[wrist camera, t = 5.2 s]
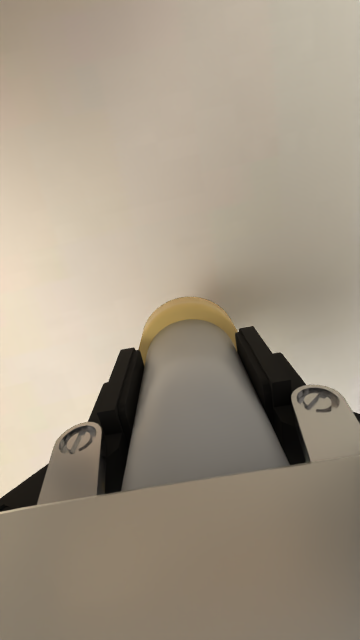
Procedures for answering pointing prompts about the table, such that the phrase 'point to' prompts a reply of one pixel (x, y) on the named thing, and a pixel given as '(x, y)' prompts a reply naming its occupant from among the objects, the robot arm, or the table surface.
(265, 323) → the table surface
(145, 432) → the grey rounded cylinder
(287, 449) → the robot arm
